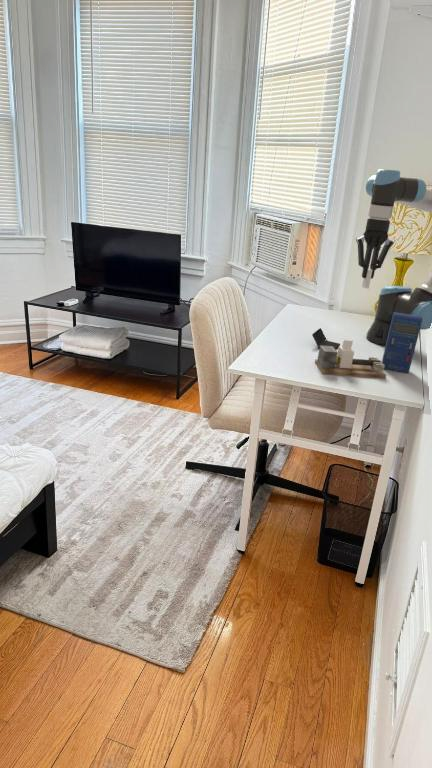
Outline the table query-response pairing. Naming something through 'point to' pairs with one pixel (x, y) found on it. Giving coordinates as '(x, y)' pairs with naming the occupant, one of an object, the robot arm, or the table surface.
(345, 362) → the flanged slider block
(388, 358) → the electronic device
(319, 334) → the handheld gaming console
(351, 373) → the comb board
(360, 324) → the table surface
